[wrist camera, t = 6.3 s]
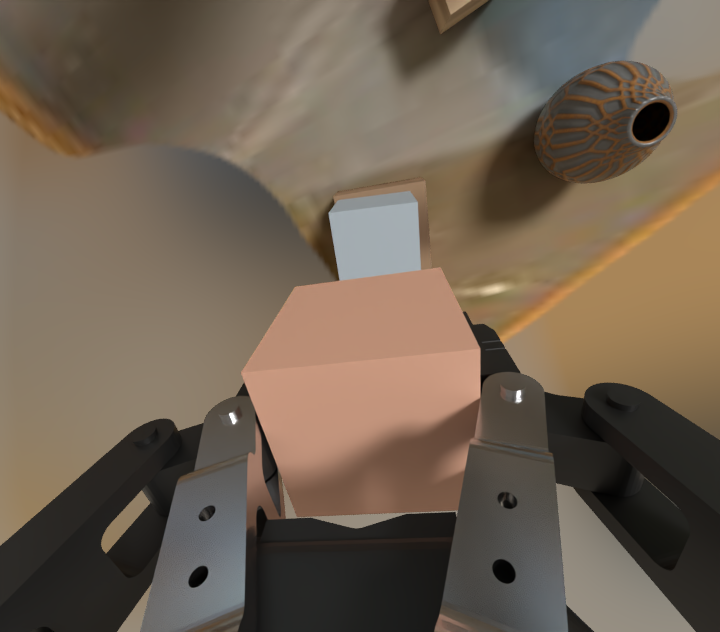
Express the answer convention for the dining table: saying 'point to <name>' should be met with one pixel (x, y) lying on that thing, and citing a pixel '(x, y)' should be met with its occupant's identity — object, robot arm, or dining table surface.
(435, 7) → the maple block
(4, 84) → the dining table surface
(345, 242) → the slate cube
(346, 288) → the terracotta cube
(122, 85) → the dining table surface
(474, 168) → the dining table surface
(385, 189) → the walnut slab
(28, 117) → the dining table surface
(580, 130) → the vase
